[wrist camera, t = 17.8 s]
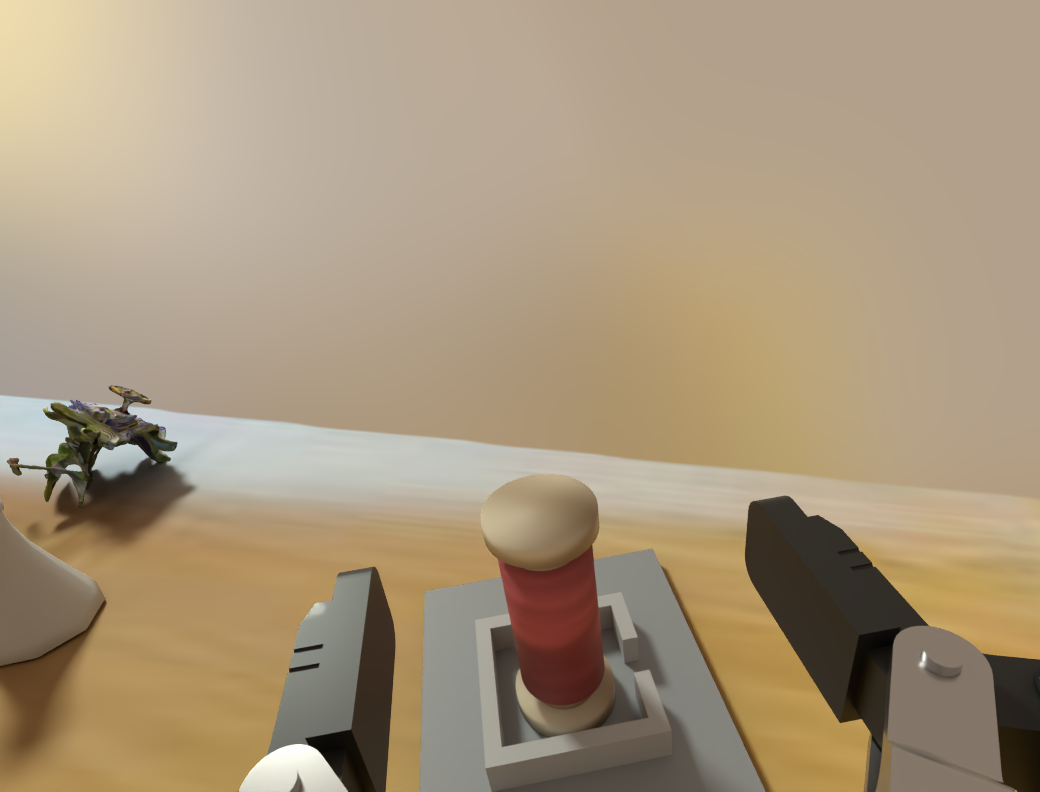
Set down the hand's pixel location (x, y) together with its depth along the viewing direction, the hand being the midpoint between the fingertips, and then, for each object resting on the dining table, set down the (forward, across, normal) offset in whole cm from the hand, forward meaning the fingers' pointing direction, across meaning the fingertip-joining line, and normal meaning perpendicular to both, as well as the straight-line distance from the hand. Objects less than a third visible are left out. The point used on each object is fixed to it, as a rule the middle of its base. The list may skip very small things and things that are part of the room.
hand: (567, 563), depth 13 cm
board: (+11, 0, +20) cm, 23 cm away
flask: (+24, +34, +21) cm, 47 cm away
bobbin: (+11, 0, +19) cm, 22 cm away
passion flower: (+43, +38, +22) cm, 61 cm away
